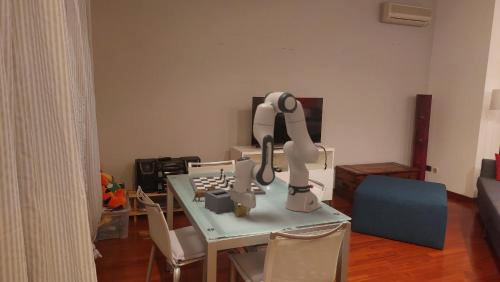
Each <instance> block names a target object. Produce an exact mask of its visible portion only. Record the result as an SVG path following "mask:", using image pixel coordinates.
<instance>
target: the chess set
mask: <svg viewBox="0 0 500 282" xmlns="http://www.w3.org/2000/svg"><path fill="white" fill-rule="evenodd" d="M219 170H220V176H190V177H189V182H190V184H191V187H192V189H193V192H194V194H195V193H196V192H197V191H199V190H201V191H206V190H207V189H209V188H210V186H215V188H216V190H219V189H224V190H226V191H228V192H230V187H229V185H230V184H232V183H235V179H236V175H226V174H225V171H224V168H220V169H219ZM251 191H253V192H254V194H255V196H256V195H259V196H261V195H266V191H265V190H264V189H263V188H262V187H261V186H260V184H259V185H258V183H257V182H256V181H255V180H252V181H251ZM200 198H204V197H203V196H201V197H200ZM196 199H198V197H197V198H196Z"/></svg>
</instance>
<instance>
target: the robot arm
mask: <svg viewBox="0 0 500 282" xmlns="http://www.w3.org/2000/svg"><path fill="white" fill-rule="evenodd" d="M278 113H282V114H283V116H284V119H285V121H284V122H285V126H286V133H287V135H288V137H289V138H290V139H291V140H288V141H286V142H285V144H283V147H282V151H283V154H284V156H285V157H286V160H287V164H288V167H289V183H288V186H287V187H288V188H287V190H288V191H287V198H286V202H285V208H286V209H287V210H289V211H294V212H305V213H311V212H313V211H315V210H317V209H319V208H322V206H323V205H322V204H321V203H319V201H318V200H319V199H318V196H317V195H316V194H315V193H313V192H312V190H311V189H313V188H314V185H313V184H309V180H310V171H309V169H308V168H307V166H306V164H315V163H316V162H317V161H318V160H319V158H320V149H319V148H318V147H317V146H316V145H315V144H314V142H313V141H312V139H311V136H310V134H309V132H308V128H307V122H306V117H305V111H304V109H303V106H302V103H301V102H300V101H299V100H297V99H296V97H295V96H294V95H293V94H292V93H290V92H283V91H272V92H269V93H267V94H265V96H264V97H263V99H262V102H261V103H260V104H258V105H257V107H256V110H255V114H254V119H253V126H252V128H253V129H252V132H253V137H254V138H255V140H256V141H257V142H258V144H259V146H260V149H261V155H260V156H261V157H260V162H259V161H255V160H254V159H252V158H251V157H249V156H243V157H242V156H241V157H240V158H238V159H237V160H236V162H235V168H234V173H235V174H234V176H236V179H235V183H232V184H230V185H229V187H230V192H229V196H230V199H231V200H233V201H234V205H235V209H236V205H243V206H245V207H246V209H247V210H246V211H245V214H246V215H248V216H249V215H250V212H251V210H252V209H255V208H256V207H257V198H256V195H255V194H254V192H253V191H251V181H252V180H253V181H255V182H256V183H257V184H259V186H260V185H261V186H263V187H266V186H267V187H268V186H269V185H271V184H272V183H274V181H275V179H276V171H275V167H274V156H275V155H274V151H275V146H274V145H275V141H274V133H275V132H274V129H275V119H276V116H277V114H278Z"/></svg>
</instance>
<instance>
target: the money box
mask: <svg viewBox="0 0 500 282" xmlns="http://www.w3.org/2000/svg"><path fill="white" fill-rule="evenodd" d="M204 208H206V209H208V210H209V209H210V211H212V212H213V213H215V214H217V215H220V214H223V213H230V212H234V211H236V209H235V205H234V201H233V200H231V199H230V196H229V192H228V191H226V190H224V189H219V190H213V191H207V192H205V197H204Z"/></svg>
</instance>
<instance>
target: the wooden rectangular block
mask: <svg viewBox="0 0 500 282" xmlns="http://www.w3.org/2000/svg"><path fill="white" fill-rule="evenodd" d="M246 210H247V209H246V207H245V206H243V205H241V204H238V205H236V210H235V217H236V218H238V219H239V218H243V217H246V216H249V215H246V214H245V211H246Z"/></svg>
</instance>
